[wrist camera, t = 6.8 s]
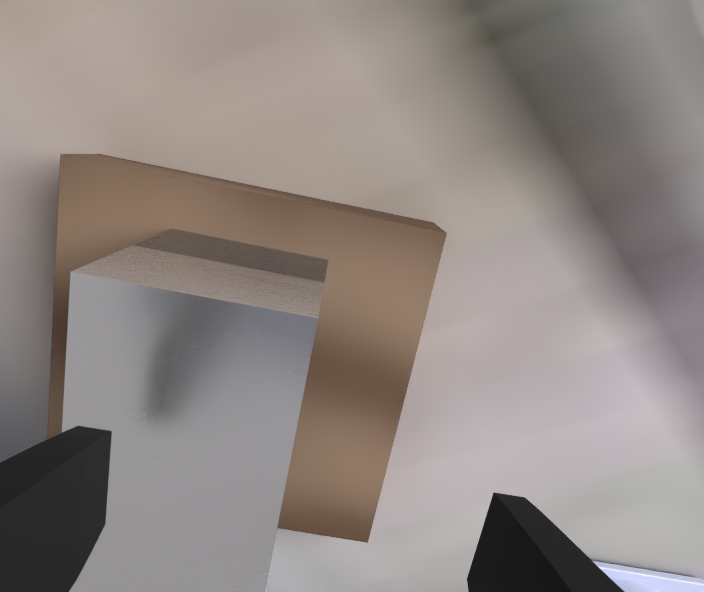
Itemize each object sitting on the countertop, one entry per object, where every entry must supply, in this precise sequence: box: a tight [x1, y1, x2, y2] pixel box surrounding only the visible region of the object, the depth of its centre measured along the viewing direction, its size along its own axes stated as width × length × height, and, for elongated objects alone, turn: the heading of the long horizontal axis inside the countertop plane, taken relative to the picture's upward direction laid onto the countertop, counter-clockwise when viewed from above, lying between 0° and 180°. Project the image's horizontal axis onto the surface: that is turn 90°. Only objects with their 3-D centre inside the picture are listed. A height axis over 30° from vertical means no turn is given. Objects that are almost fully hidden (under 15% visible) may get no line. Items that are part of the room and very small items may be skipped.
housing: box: [62, 229, 328, 592], centre depth 14 cm, size 8×5×6 cm, turn 168°
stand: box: [47, 154, 447, 543], centre depth 18 cm, size 12×12×2 cm
